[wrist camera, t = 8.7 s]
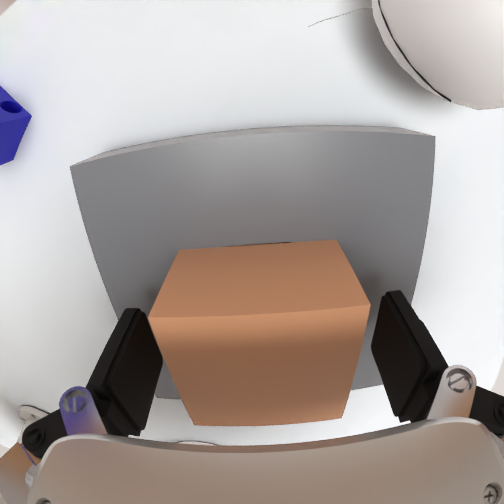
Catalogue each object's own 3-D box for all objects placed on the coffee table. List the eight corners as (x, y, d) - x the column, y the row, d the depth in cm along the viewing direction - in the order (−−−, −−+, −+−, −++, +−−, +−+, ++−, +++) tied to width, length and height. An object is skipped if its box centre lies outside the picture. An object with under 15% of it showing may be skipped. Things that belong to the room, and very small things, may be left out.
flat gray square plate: (372, 350, 18) (384, 383, 15) (166, 363, 19) (157, 397, 16) (401, 128, 11) (435, 136, 9) (103, 152, 12) (69, 166, 9)
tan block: (317, 314, 16) (341, 418, 10) (211, 320, 16) (194, 425, 10) (321, 213, 13) (370, 304, 7) (192, 222, 14) (147, 317, 8)
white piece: (457, -11, 7) (547, -35, 1) (477, 110, 10) (583, 139, 4) (275, -40, 8) (291, -138, 1) (299, 102, 11) (354, 96, 5)
